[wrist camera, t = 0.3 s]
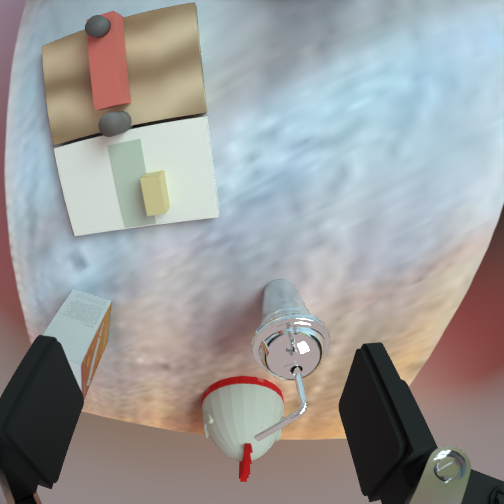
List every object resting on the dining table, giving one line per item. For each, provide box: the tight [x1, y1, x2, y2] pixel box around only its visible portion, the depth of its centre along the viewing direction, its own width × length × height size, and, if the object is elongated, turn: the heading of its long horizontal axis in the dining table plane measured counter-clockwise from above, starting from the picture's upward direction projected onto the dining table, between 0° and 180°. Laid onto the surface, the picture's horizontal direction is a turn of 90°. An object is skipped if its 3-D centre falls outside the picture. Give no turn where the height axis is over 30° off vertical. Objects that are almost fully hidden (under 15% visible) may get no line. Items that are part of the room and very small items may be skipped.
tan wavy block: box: [42, 3, 207, 145], centre depth 27 cm, size 13×18×5 cm
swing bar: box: [85, 11, 131, 110], centre depth 25 cm, size 10×3×4 cm, turn 5°
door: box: [54, 116, 220, 236], centre depth 33 cm, size 11×18×4 cm, turn 95°
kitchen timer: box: [202, 376, 284, 482], centre depth 46 cm, size 14×14×15 cm
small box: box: [43, 289, 112, 399], centre depth 37 cm, size 8×6×13 cm
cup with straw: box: [251, 279, 330, 441], centre depth 34 cm, size 8×9×20 cm
